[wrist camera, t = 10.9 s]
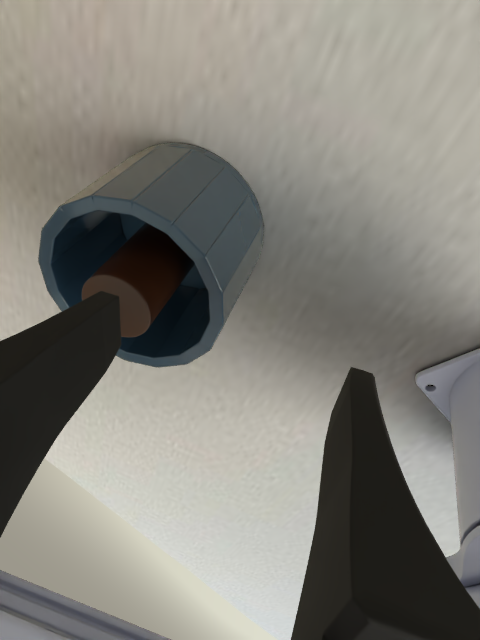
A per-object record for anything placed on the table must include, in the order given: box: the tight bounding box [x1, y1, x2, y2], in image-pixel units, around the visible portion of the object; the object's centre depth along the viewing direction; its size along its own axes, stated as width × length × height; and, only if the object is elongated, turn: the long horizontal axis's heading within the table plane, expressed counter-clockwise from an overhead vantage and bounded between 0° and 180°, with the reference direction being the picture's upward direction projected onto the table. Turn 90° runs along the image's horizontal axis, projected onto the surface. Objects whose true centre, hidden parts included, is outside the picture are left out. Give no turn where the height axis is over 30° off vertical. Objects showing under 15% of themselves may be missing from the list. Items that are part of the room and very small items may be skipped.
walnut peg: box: [82, 223, 194, 337], centre depth 21 cm, size 3×3×7 cm
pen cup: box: [38, 143, 264, 367], centre depth 21 cm, size 8×8×6 cm
